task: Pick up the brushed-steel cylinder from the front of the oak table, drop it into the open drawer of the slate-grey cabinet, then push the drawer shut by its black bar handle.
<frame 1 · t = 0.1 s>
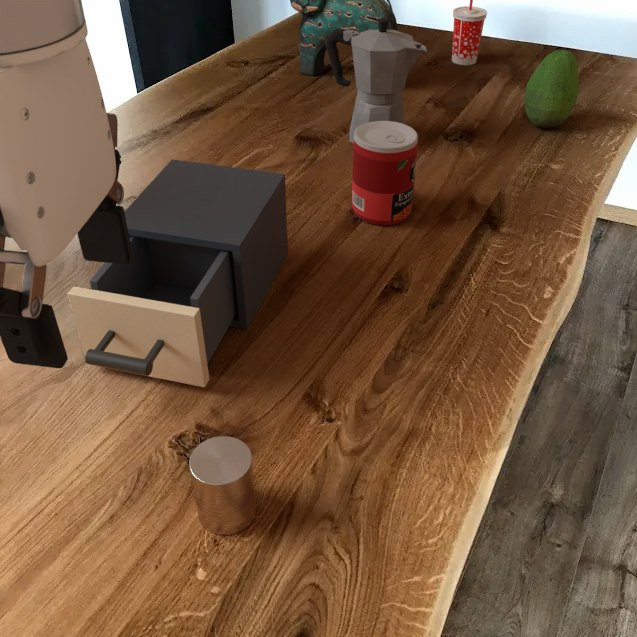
hand: (77, 306, 43), 24 cm above the table, tool pointing down, fingers open, 9 cm apart
coffeepot: (370, 138, 113), on the table
beverage cup: (463, 61, 138), on the table
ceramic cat: (345, 79, 132), on the table
cylinder: (227, 510, 60), on the table
avocado: (544, 126, 116), on the table
cabinet: (212, 279, 85), on the table
drawer: (158, 311, 72), point 5 cm above the table, slide at 9.0 cm
canned food: (381, 212, 97), on the table
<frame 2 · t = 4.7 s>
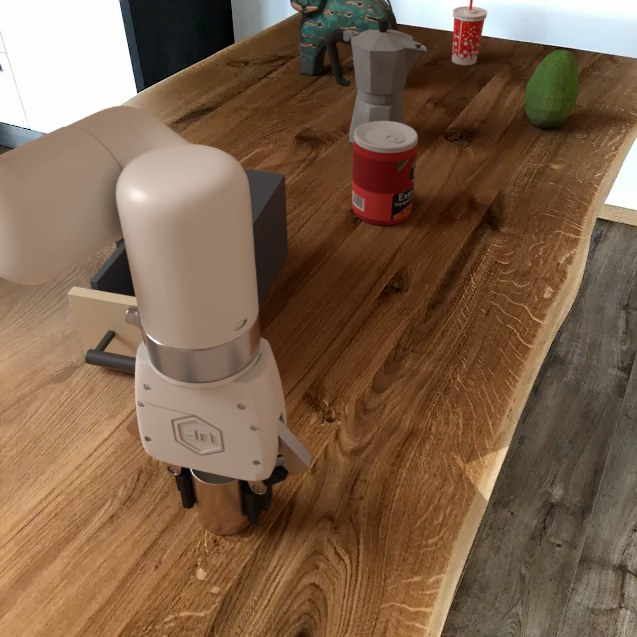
hand: (226, 500, 59), 1 cm above the table, tool pointing down, fingers closed on cylinder, 4 cm apart
cylinder: (227, 510, 60), on the table, touching gripper
everything else where it was.
when the fingers open (10 cm above the table, at t = 10.1 s): cylinder drops 6 cm, resting on drawer.
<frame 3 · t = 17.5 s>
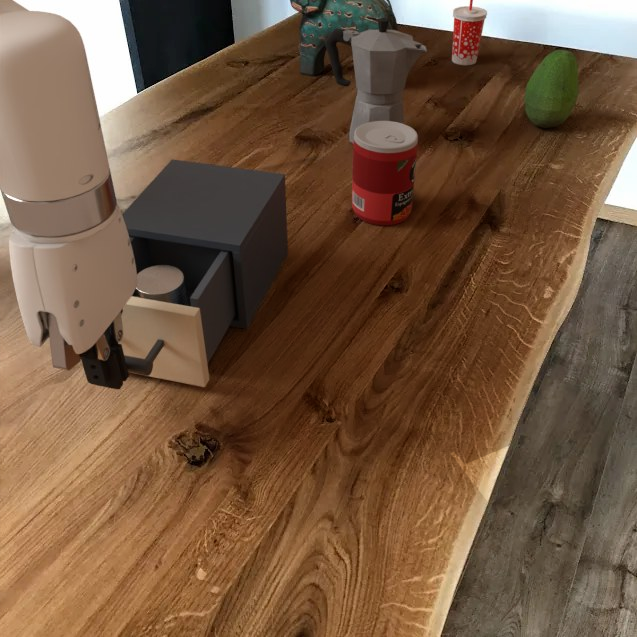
hand: (108, 380, 64), 6 cm above the table, tool pointing down, fingers closed
cylinder: (167, 330, 75), point 2 cm above the table, touching drawer
drawer: (158, 311, 72), point 5 cm above the table, slide at 9.0 cm, touching cylinder, gripper
everything else where it was.
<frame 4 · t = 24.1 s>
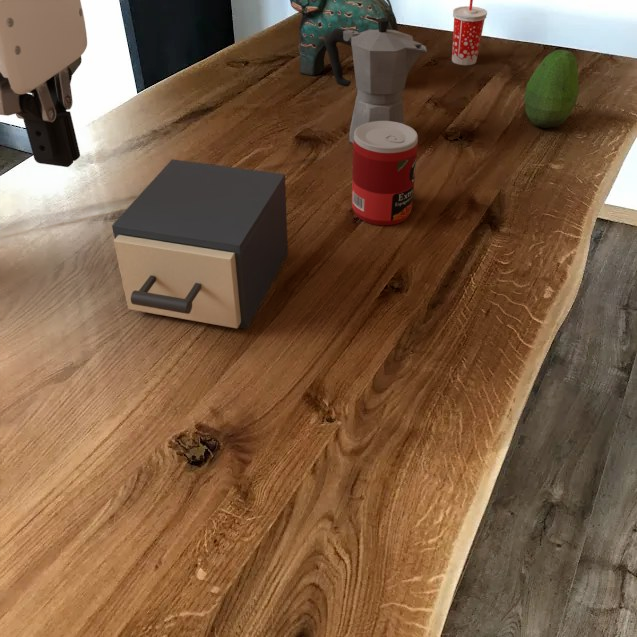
hand: (58, 160, 59), 23 cm above the table, tool pointing down, fingers closed
cylinder: (201, 279, 81), point 2 cm above the table, touching drawer
drawer: (194, 260, 79), point 5 cm above the table, slide at 0.0 cm, touching cylinder
everything else where it was.
at the end: cylinder inside the target area in the cabinet (2.8 cm from its centre), point 2.1 cm above the cabinet's base; drawer slide at 0.0 cm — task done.
